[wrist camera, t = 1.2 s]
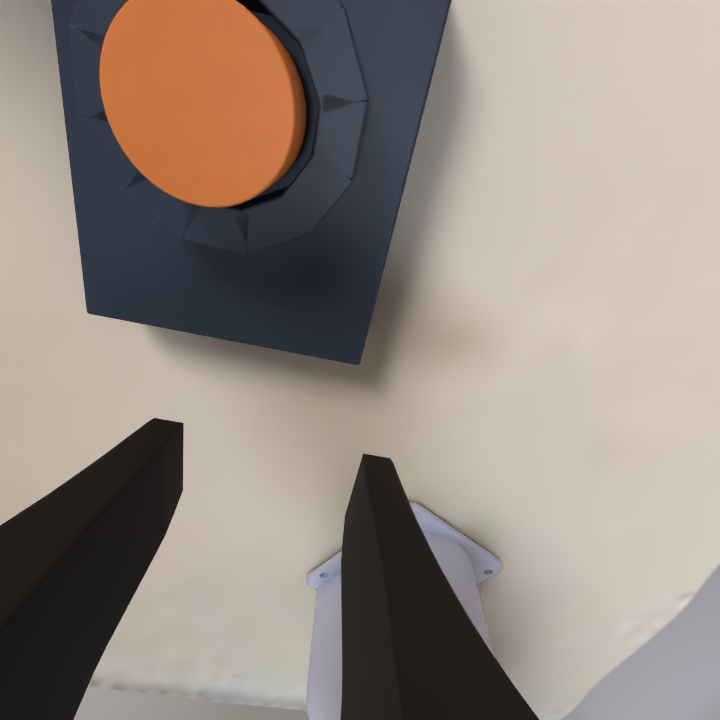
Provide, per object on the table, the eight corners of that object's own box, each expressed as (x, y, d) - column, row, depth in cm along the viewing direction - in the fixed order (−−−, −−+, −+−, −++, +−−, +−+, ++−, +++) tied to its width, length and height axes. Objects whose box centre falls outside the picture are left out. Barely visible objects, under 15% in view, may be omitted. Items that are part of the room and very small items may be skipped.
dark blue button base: (360, 336, 18) (358, 396, 14) (121, 289, 17) (49, 339, 13) (446, -21, 12) (485, -85, 8) (92, -124, 11) (-50, -251, 7)
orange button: (295, 208, 12) (283, 225, 10) (147, 175, 11) (106, 186, 9) (318, 32, 10) (309, 12, 8) (140, -17, 9) (88, -48, 8)
